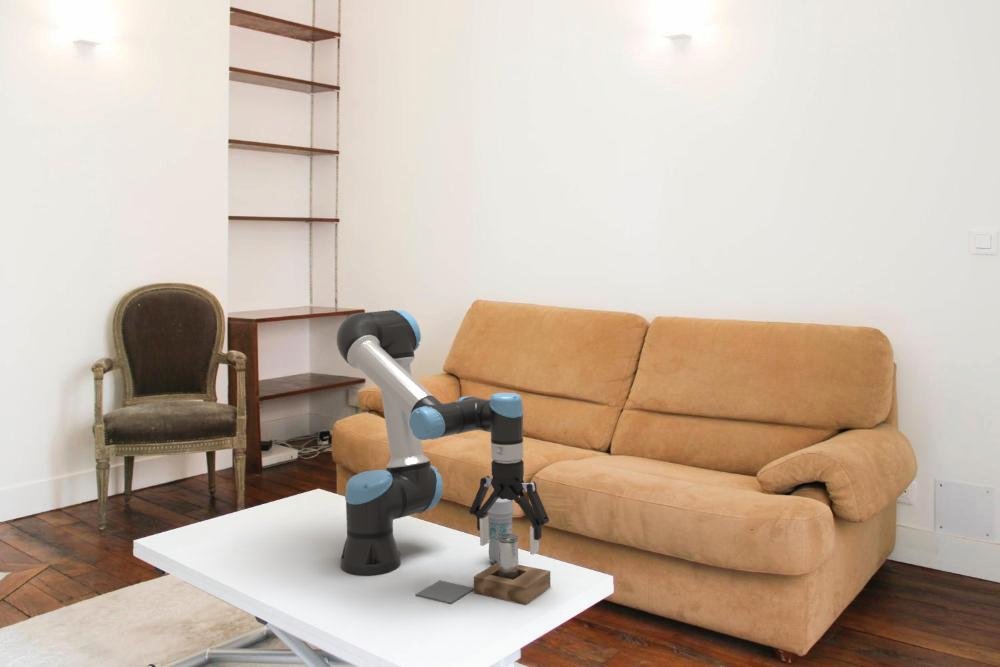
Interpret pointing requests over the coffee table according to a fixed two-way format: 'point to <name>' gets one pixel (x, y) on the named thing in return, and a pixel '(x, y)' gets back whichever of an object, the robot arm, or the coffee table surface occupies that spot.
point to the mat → (445, 592)
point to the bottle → (499, 525)
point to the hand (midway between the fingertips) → (509, 548)
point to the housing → (512, 584)
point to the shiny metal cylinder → (508, 556)
